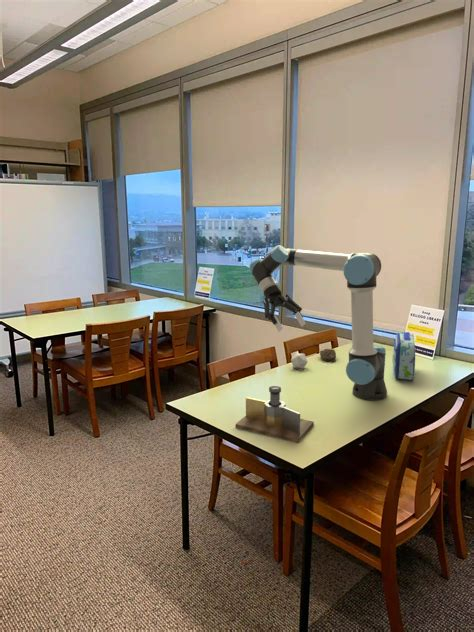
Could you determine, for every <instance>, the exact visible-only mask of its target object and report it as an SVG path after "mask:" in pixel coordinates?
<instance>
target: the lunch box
mask: <svg viewBox="0 0 474 632" xmlns="http://www.w3.org/2000/svg"><path fill="white" fill-rule="evenodd" d="M415 344H416V343H415V337H414V334H413V333H410V331H405V332H400V333H399V332H397V333H396V335H395V339H393V352H392V353H393V354H392V373H393V376H394V378H395V379H396V380H398V379H399V380H407V381H413V380H414V378H415V371H416V345H415Z"/></svg>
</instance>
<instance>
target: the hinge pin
mask: <svg viewBox="0 0 474 632" xmlns="http://www.w3.org/2000/svg"><path fill="white" fill-rule="evenodd" d="M268 392H269V394H270V395H269V397H270V399H269V400H270V405H271V406H280V400H281V394H280V393H281V392H282V387H281V386H278V385H272V386H269V387H268Z"/></svg>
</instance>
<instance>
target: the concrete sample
mask: <svg viewBox="0 0 474 632" xmlns="http://www.w3.org/2000/svg"><path fill="white" fill-rule="evenodd" d="M319 355H320V358H321V360H322V361H324V362H327V363H335V362H336V359H337V354H336V350H335V349H334V348H331V349H330V348H325V349H322V350H320V351H319Z"/></svg>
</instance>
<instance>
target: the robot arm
mask: <svg viewBox="0 0 474 632" xmlns="http://www.w3.org/2000/svg"><path fill="white" fill-rule="evenodd" d="M284 266H296V267H297V266H298V267H305V268H306V267H307V268H314V269H323V270H329V271H330V270H331V271H338V272H343V277H344V278H345V280H346V289H348V291H350V298H351V299H350V302H351V303H350V305H351V345H352V347H351V348H350V349H349V350H348V362H347V364H346V365H345V366H346V367H345V373H346V376H347V378H348V379H349V380H350V381H351V382H352V383H354V384H353V385H352V394H353V396H355V397H357V398H358V399H359V398H360V399H363V400H367V401H381V400H384V399H387V396H388V388H387V386H386V383H385V367H386V363H385V362H386V355H387V353H386V348H385V347H384V346H382V345H379V344H374V308H373V307H374V300H373V299H374V297H373V296H374V293H373V292H374V290H375V289H376V288H377V277H378V276H379V274H380V272H381V271H382V261H381V259H380V258H379V257H378V255H377V254H375V253H372V252H352V253H350V254H346V253H337V252H327V251H326V252H325V251H314V250H305V249H295V248H292V247H290V248H289V247H287V248H285V247H284V246H282V245H281V244H280V245H279V244H278V245H276V246H275V247H274V248H272V250H270V251H269V253H268V254H267V255H265V257H264V258H263V259H262V258H256V259H255V260H253V261H251V263H250V264H249V270H250V272H251V275H252V276H253V278H254V280H255V281H256V283H257V285H258V286H259V288H260V290H261V292H262V294H263V295H264V298H263V300H262V303H263V307H264V308H263V309H264V318H265V319H268V320H269V321H271V323H272V325H273V326H275V328H276V330H277V331H278V332H281V331H282V330H283V326H282V323H281V322H280V320H279V319H278V317H277V315H275V313H276V308H278V307H279V308H281V307H282V308H285V309H286V310H289V311H290V312H292V313H293V314H294V316H295V318H296V320H297V322H298V323H299V325H300V327H301V328H303V327H305V325H306V324H307V323H306V321H305V319H304V317H303V315H302V313H301V312H302V310H303V308H302V307H301V306H300V305H299V304H297V303H296V302H295V301H294V300H293V299H292V298H291V297H290V296H289V294H286V295H284V296H283V294H282V290H281V289H280V286H279V285H278V284H277V282H276V280H275V277H274V276H273V275H272V274H273V273H274V272H275V271H277V269H278V268H279V267H284Z"/></svg>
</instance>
